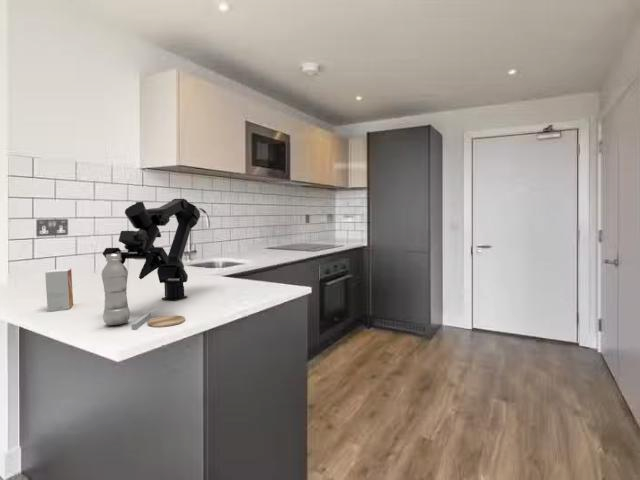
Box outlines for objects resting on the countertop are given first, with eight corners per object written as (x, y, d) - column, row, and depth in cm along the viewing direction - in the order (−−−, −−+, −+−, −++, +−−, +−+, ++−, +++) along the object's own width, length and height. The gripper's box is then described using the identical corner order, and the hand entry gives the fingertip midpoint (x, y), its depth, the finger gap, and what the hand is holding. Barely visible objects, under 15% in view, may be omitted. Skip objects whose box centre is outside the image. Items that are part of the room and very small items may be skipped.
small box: (70, 309, 126) (67, 270, 125) (47, 311, 123) (44, 272, 122) (73, 304, 133) (71, 268, 132) (52, 306, 130) (49, 269, 129)
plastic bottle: (110, 321, 109) (106, 253, 108) (134, 320, 110) (130, 252, 109) (99, 328, 103) (94, 255, 102) (124, 327, 103) (120, 254, 102)
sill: (136, 329, 101) (136, 323, 101) (131, 329, 101) (131, 324, 101) (151, 317, 113) (151, 312, 113) (147, 317, 113) (147, 312, 113)
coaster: (139, 324, 105) (139, 322, 105) (167, 316, 115) (167, 314, 114) (165, 328, 101) (165, 326, 101) (192, 319, 110) (192, 317, 110)
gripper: (105, 221, 116) (80, 261, 105) (162, 220, 114) (143, 261, 103) (122, 245, 124) (101, 284, 114) (176, 244, 122) (159, 284, 112)
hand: (125, 278), depth 110 cm, fingers open, 9 cm apart
